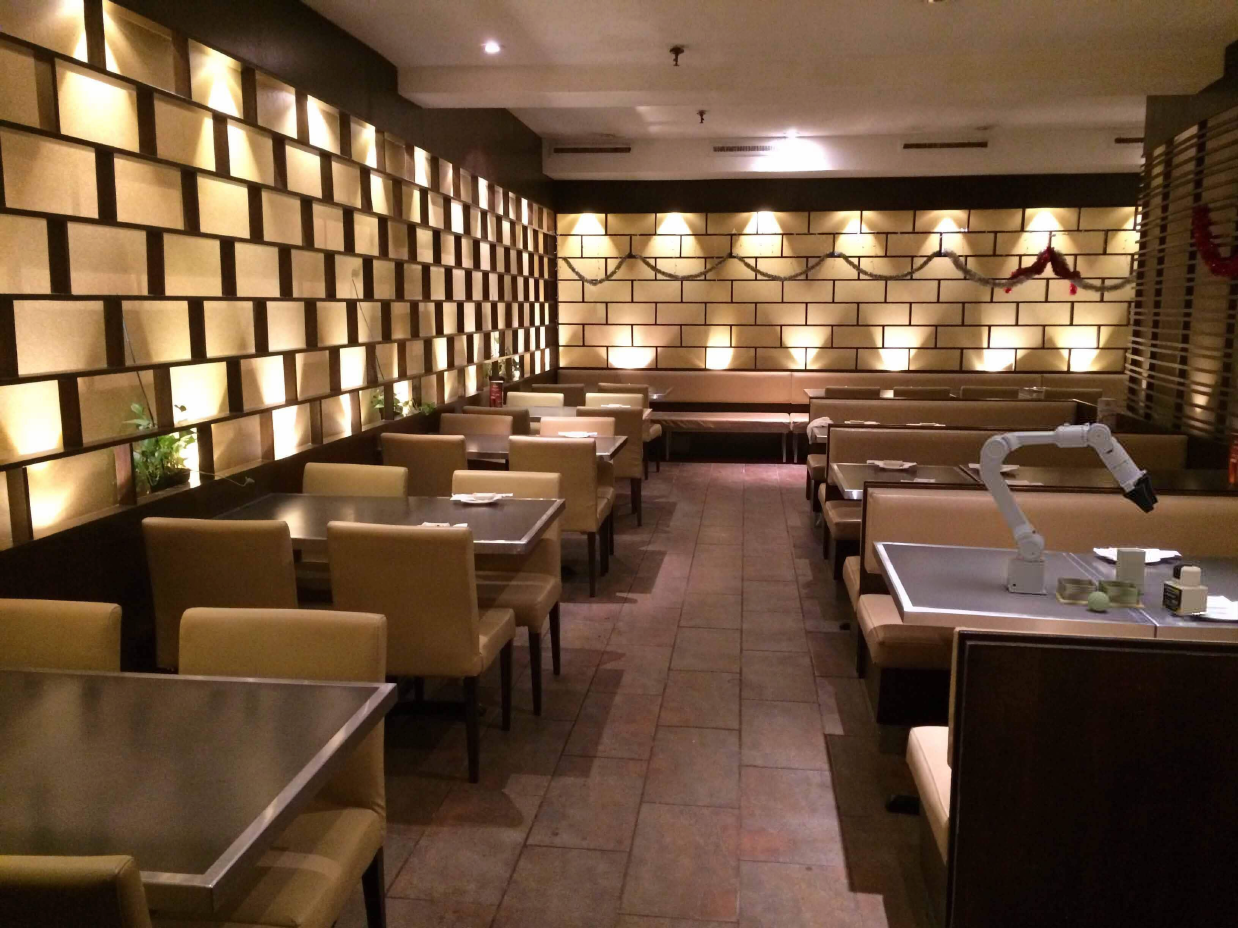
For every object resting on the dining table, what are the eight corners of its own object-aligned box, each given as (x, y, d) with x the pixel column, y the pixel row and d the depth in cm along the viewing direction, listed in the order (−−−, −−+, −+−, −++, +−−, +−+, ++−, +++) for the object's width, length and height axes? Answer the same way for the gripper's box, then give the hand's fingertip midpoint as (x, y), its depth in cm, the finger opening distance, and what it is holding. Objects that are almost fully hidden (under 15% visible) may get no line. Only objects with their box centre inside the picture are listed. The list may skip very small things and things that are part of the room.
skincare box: (1136, 590, 267) (1139, 548, 266) (1143, 594, 263) (1146, 551, 262) (1113, 590, 268) (1116, 547, 266) (1120, 594, 264) (1123, 550, 262)
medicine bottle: (1161, 608, 250) (1164, 562, 249) (1187, 607, 251) (1191, 562, 249) (1179, 615, 243) (1183, 569, 242) (1206, 615, 244) (1210, 568, 242)
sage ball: (1089, 612, 246) (1090, 593, 245) (1085, 607, 251) (1086, 588, 250) (1110, 614, 244) (1112, 594, 244) (1106, 608, 249) (1107, 589, 249)
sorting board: (1060, 603, 254) (1061, 586, 253) (1053, 593, 264) (1054, 576, 264) (1145, 609, 249) (1146, 592, 248) (1134, 598, 259) (1135, 581, 259)
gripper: (1129, 461, 245) (1163, 506, 243) (1138, 450, 257) (1170, 493, 254) (1104, 476, 250) (1137, 520, 247) (1114, 464, 261) (1145, 506, 259)
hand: (1152, 507), depth 251 cm, fingers open, 7 cm apart
